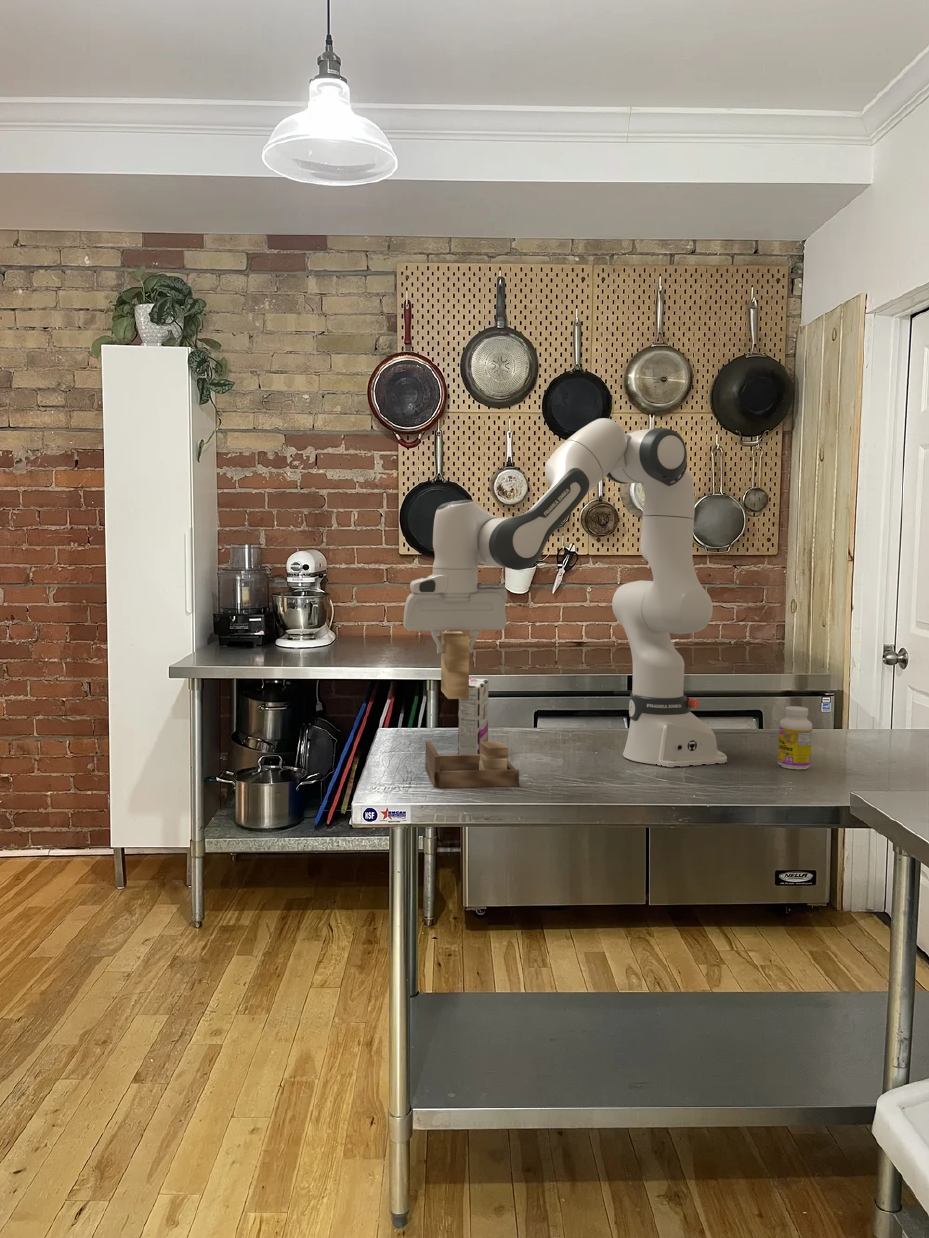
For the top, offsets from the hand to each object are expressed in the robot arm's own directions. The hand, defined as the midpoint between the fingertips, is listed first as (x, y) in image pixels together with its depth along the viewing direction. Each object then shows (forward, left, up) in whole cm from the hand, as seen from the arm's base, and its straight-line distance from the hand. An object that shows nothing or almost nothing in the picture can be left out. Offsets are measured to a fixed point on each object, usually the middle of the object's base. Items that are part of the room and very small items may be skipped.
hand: (454, 653), depth 187 cm
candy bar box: (-7, -19, -25) cm, 33 cm away
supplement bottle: (-74, -2, -25) cm, 79 cm away
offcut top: (-8, 0, -21) cm, 22 cm away
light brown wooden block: (0, 0, -8) cm, 8 cm away
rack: (-3, 0, -25) cm, 25 cm away
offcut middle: (-8, 0, -23) cm, 24 cm away
